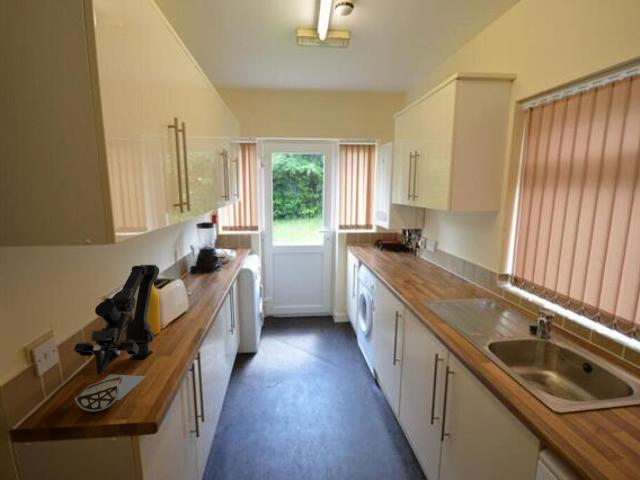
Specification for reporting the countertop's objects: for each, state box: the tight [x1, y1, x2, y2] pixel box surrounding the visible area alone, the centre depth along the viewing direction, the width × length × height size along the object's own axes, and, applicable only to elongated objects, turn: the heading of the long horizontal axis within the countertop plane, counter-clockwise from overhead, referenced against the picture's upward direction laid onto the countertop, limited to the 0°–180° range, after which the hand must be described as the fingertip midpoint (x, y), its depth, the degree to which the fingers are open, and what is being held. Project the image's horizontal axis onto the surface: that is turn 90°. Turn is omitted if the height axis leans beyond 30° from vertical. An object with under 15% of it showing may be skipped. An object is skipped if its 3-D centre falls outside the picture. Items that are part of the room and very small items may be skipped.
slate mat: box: [100, 374, 147, 402], centre depth 117 cm, size 15×14×1 cm
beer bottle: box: [147, 283, 161, 336], centre depth 163 cm, size 9×9×29 cm
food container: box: [74, 376, 122, 412], centre depth 107 cm, size 12×6×10 cm
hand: (98, 374), depth 109 cm, fingers closed
